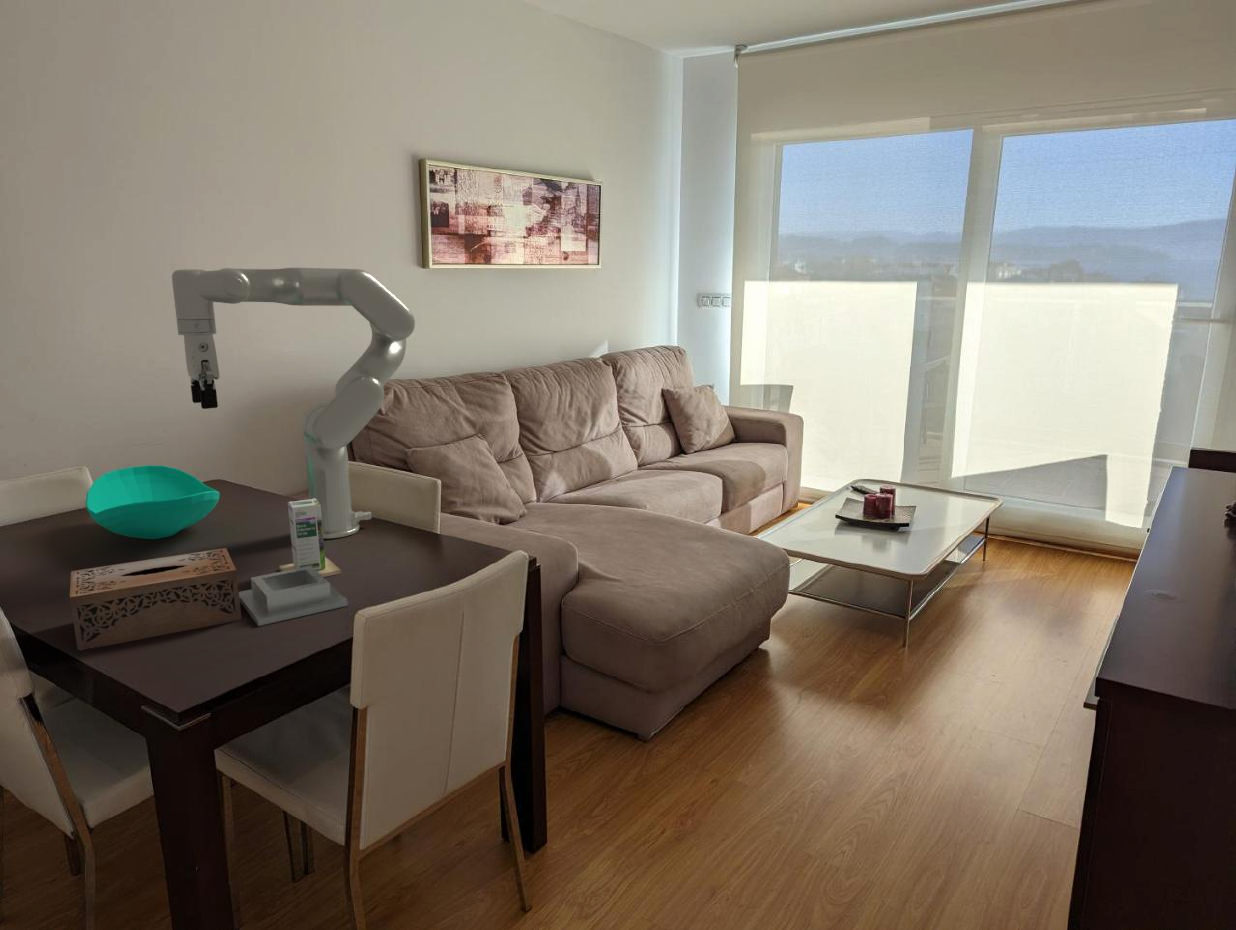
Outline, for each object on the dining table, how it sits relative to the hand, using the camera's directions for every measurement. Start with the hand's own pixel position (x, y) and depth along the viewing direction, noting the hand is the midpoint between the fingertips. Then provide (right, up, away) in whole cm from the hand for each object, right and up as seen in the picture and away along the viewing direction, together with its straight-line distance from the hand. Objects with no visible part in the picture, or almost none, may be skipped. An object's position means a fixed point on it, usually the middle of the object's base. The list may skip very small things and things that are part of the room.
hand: (205, 405), depth 190 cm
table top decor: (-19, -30, +17) cm, 40 cm away
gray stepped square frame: (+28, -40, -24) cm, 55 cm away
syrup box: (+26, -35, -7) cm, 44 cm away
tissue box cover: (+8, -42, -32) cm, 54 cm away
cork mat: (+26, -36, -7) cm, 45 cm away
